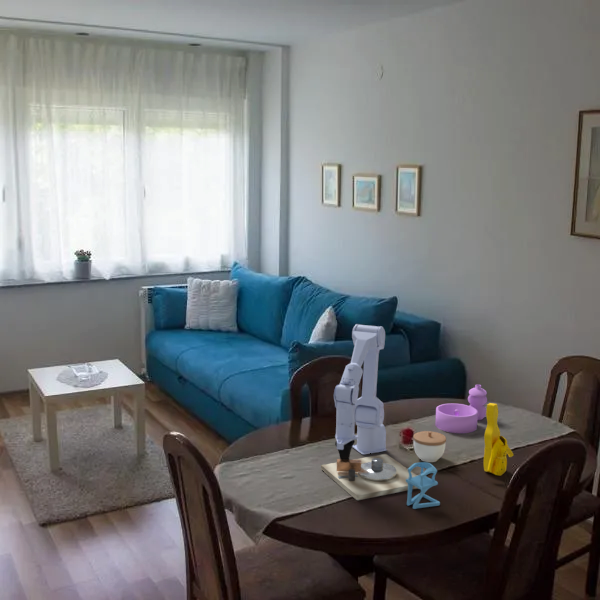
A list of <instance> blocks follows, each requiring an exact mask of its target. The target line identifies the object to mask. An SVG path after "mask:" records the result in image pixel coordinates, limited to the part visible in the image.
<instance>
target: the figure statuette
mask: <svg viewBox="0 0 600 600" xmlns="http://www.w3.org/2000/svg"><path fill="white" fill-rule="evenodd" d="M485 417H486V421H487V423H486V428H485V430H484V436H483V438H484V439H483V440H484V451H483V452H484V453H483V470H484V472H486V473H491V474H493V475H495V476H503V474H505V473H506V471H507V466H508V459H507V455H508V457H509V458H512V457H513V456H514V453H513V451H512V449H511V448H510V447H509V443H508V439H507V438H505V437H504V436H503V435H501V429H500V428H499V424H498V420H499V419H498V418H499V407H498V404H497V403H493V402H492V403H491V402H489V403H488V404H487V403H486V416H485Z"/></svg>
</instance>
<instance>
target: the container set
mask: <svg viewBox="0 0 600 600" xmlns="http://www.w3.org/2000/svg"><path fill="white" fill-rule="evenodd" d="M468 394H469V395H468V397H467V401H468V403H469V405H467V404H464V403H451V402H450V403H443V404H440V405H438V406H436V408H435V422H434V425H435V427H436V428H437V429H439V430H441V431H443V432H448V433H451V434H452V433H453V434H469V433H470V434H471V433H474V432H475V431H476V430H477V429H478V421H481V420H483V419H485V417H486V409H487V407H486V406H485V405H487V402H488V398H487V394H488V393H487V390H485V389H484V388H482V385H481V384H475V386H474V387H473V388H471V389H469V390H468Z"/></svg>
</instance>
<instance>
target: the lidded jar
mask: <svg viewBox="0 0 600 600" xmlns="http://www.w3.org/2000/svg"><path fill="white" fill-rule="evenodd" d="M412 439H413V450H414V452H415V454H416V456H417V457H418V458H419V460H420V459H421V460H420V461H421V462H428V463H436V462H437V461H439V459H440V458H442V456H443V455H444V454H445V450H446V442H447V437H446V436H445V435H444V434H443V433H440V432H437V431H430V430H423V431H417V432H415V433H414V434H413V437H412Z"/></svg>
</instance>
